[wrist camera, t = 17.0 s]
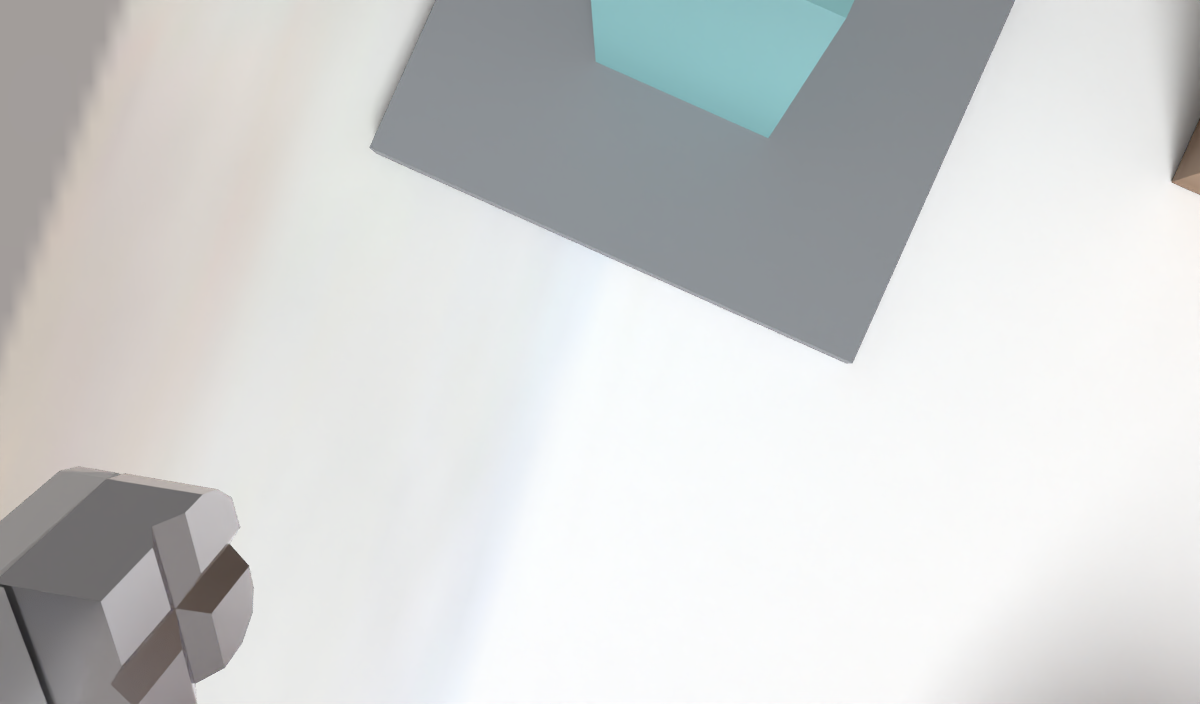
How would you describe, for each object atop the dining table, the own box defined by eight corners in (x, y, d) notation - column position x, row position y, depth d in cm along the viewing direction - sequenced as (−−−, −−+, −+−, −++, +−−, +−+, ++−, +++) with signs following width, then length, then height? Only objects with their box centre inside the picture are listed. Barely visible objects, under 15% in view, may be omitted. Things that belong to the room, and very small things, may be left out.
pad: (586, -313, 30) (584, -332, 29) (1057, -109, 30) (1069, -122, 29) (376, 153, 30) (369, 147, 29) (846, 363, 30) (852, 363, 29)
